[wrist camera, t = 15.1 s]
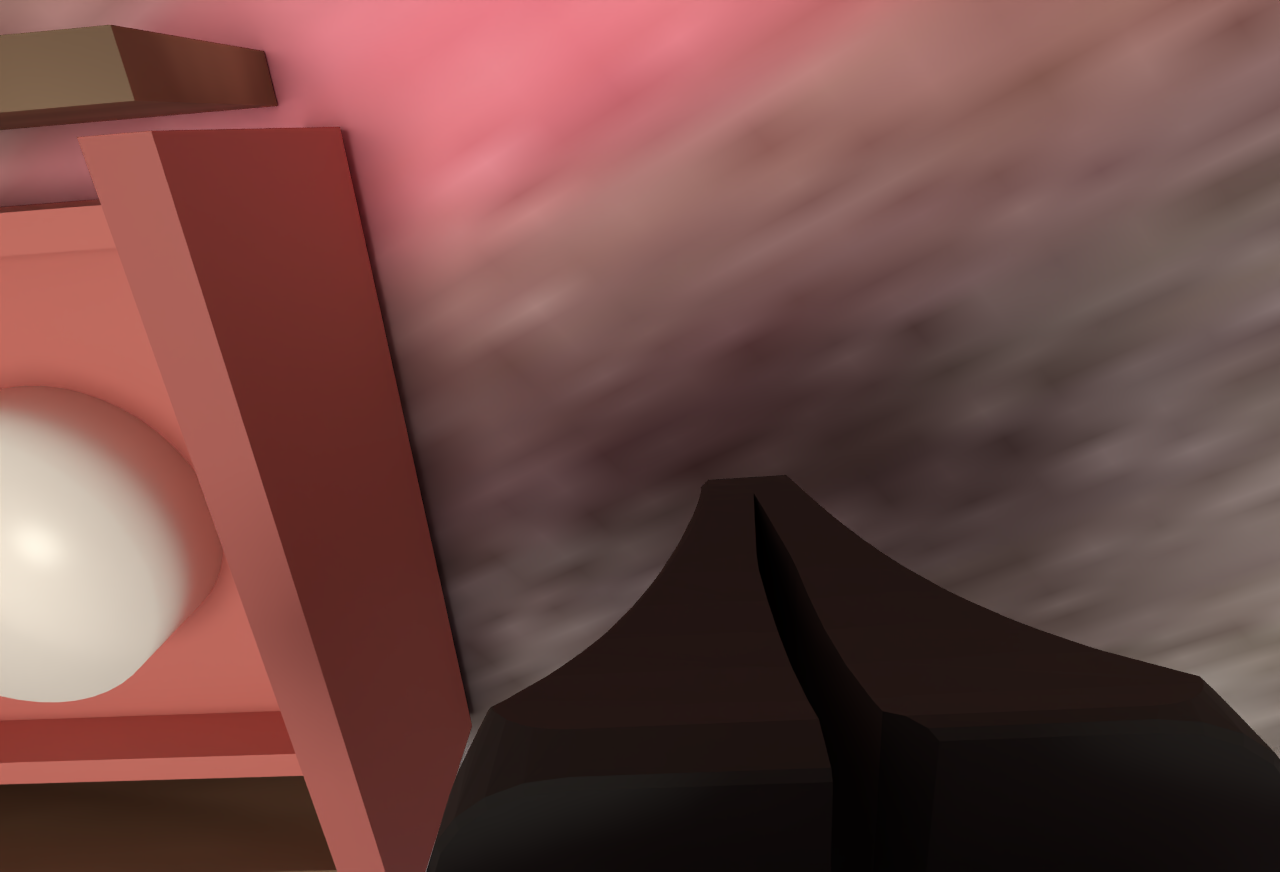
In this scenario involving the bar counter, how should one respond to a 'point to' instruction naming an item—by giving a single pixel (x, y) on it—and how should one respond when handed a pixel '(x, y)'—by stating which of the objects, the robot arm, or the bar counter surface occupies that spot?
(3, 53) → the cabinet
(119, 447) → the white dome
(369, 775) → the drawer
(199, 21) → the bar counter surface
